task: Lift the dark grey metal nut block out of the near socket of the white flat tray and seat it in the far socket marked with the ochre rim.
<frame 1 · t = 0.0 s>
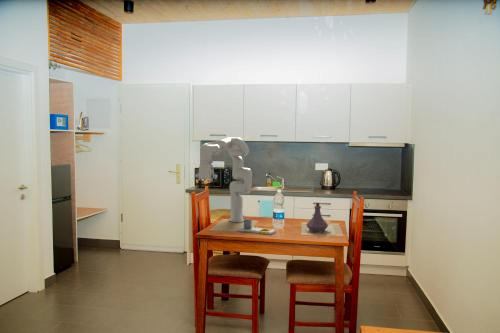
hand: (205, 187, 273), 31 cm above the table, fingers open, 9 cm apart
flask: (317, 231, 282), on the table
white flat tray: (256, 231, 278), on the table
nut block: (247, 230, 281), resting in white flat tray
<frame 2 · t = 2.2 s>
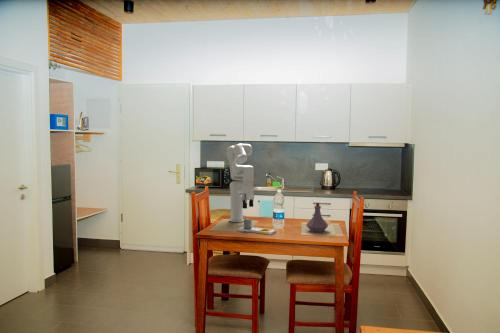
hand: (248, 207, 280), 16 cm above the table, fingers open, 9 cm apart
nothing on the table moved.
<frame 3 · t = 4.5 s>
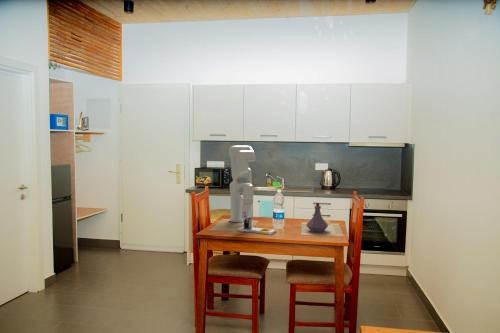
hand: (247, 227, 281), 2 cm above the table, fingers closed on nut block, 4 cm apart
nut block: (247, 230, 281), resting in white flat tray, touching gripper
everything else where it was.
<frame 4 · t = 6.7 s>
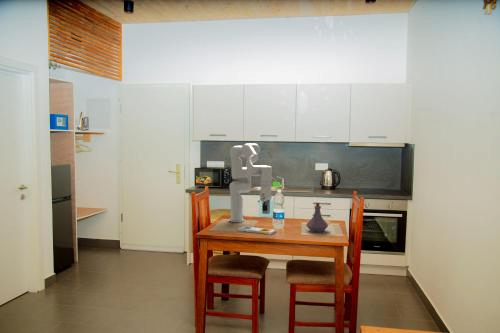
hand: (266, 210, 274), 16 cm above the table, fingers closed on nut block, 4 cm apart
nut block: (266, 213, 274), point 14 cm above the table, touching gripper
everything else where it was.
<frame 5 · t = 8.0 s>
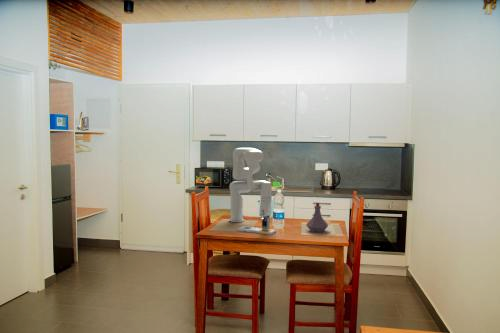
hand: (265, 225, 275), 5 cm above the table, fingers closed on nut block, 4 cm apart
nut block: (265, 228, 275), point 3 cm above the table, touching gripper
everything else where it was.
when the fingers open (4 cm above the table, at t = 8.9 s): nut block drops 1 cm, resting in white flat tray.
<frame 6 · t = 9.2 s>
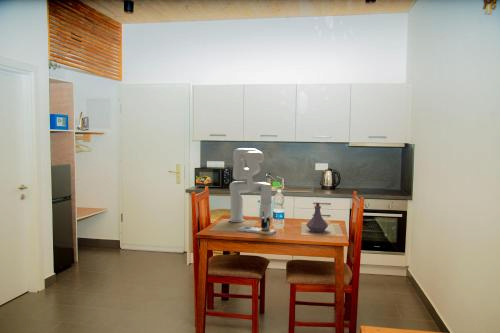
hand: (265, 226, 275), 4 cm above the table, fingers open, 6 cm apart
nut block: (265, 232, 275), resting in white flat tray
everything else where it was.
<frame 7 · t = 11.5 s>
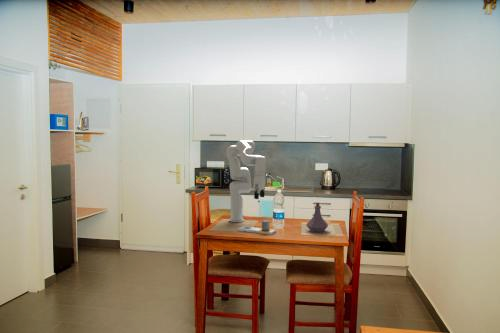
hand: (259, 197, 278), 24 cm above the table, fingers open, 9 cm apart
nothing on the table moved.
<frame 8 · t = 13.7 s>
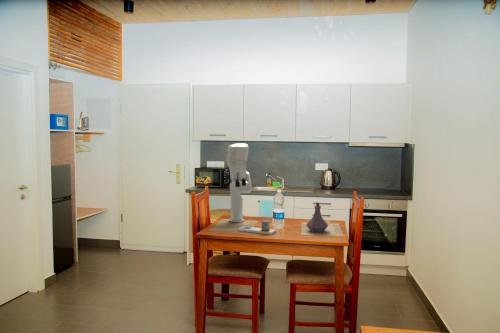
hand: (240, 186, 289), 30 cm above the table, fingers open, 9 cm apart
nothing on the table moved.
at the end: nut block 0.1 cm from the target spot on the white flat tray, point 0.0 cm above the white flat tray's base; nut block tilted 0°; the gripper is holding nothing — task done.
